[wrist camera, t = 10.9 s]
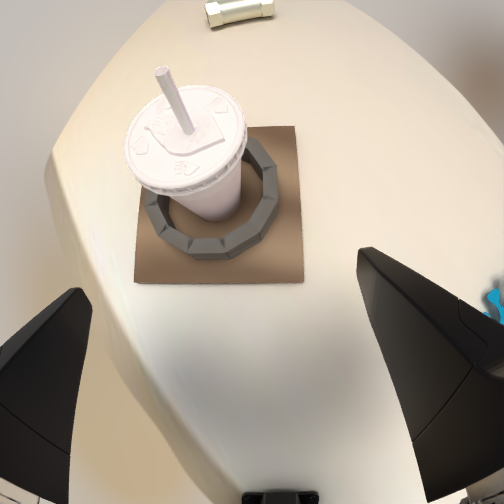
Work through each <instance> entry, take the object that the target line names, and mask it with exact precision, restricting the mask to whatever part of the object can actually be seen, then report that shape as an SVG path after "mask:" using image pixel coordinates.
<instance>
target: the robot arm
mask: <svg viewBox="0 0 504 504" xmlns="http://www.w3.org/2000/svg"><path fill="white" fill-rule="evenodd" d="M356 272H357V279H358V282H359V286H360V289H361V293H362V296H363V299H364V303H365V307H366V310H367V314H368V317H369V320H370V323H371V326H372V328H373V331H374V333H375V336H376V339H377V341H378V344H379V346H380V349H381V352H382V354H383V357H384V360H385V362H386V365H387V368H388V370H389V373H390V376H391V379H392V382H393V385H394V387H395V390H396V393H397V396H398V399H399V402H400V405H401V408H402V411H403V415H404V418H405V421H406V424H407V427H408V431H409V434H410V437H411V441H412V442H413V443H412V445H413V448H414V452H415V456H416V459H417V463H418V467H419V471H420V475H421V479H422V483H423V487H424V491H425V496H426V500H427V503H430V502H432V501H435V500H438V499H440V498H443V497H445V496H448V495H450V494H452V493H455V492H457V491H459V490H462V489H464V488H466V491H467V495H468V496H467V497H465V498H464V499H462V500H461V502H460V503H459V504H504V325H503V324H501V323H499V322H497V321H496V320H494V319H492V318H490V317H489V316H487V315H485V314H483V313H482V312H480V311H478V310H477V309H475V308H474V307H472V306H470V305H469V304H467V303H466V302H464V301H463V300H461V299H459V300H458V297H456V296H455V295H453V294H451V293H450V292H448V291H447V290H445V289H443V288H442V287H440V286H439V285H437V284H435V283H434V282H432V281H430V280H429V279H427V278H425V277H424V276H422V275H420V274H419V273H417V272H415V271H414V270H412V269H410V268H408V267H407V266H405V265H403V264H402V263H400V262H398V261H396V260H395V259H393V258H391V257H389V256H388V255H386V254H384V253H382V252H380V251H379V250H377V249H375V248H373V247H366V248H360V249H359V250H358V256H357V270H356ZM92 311H93V310H92V305H91V303H90V301H89V300H88V298H87V296H86V294H85V293H84V291H83V289H81V288H80V287H76V288H70V289H69V290H67V291H66V292H65V293H64V294H62V295H61V296H60V297H59V298H57V299H56V300H55V301H53V302H52V303H51V304H50V305H49V306H47V307H46V308H45V309H44V310H42V311H41V312H40V313H39V314H38V315H37V316H35V317H34V318H33V319H32V320H30V321H29V322H28V323H27V324H26V325H25V326H23V327H22V328H21V329H20V330H19V331H18V332H16V333H15V334H14V335H13V336H12V337H11V338H10V339H9V340H7V341H6V342H5V343H4V344H3V345H2V346H1V347H0V504H39V502H40V497H41V498H43V499H46V500H48V501H51V502H53V503H56V504H68V502H69V500H68V499H69V497H68V496H69V467H70V452H71V441H72V431H73V423H74V416H75V408H76V403H77V397H78V391H79V385H80V379H81V374H82V369H83V365H84V360H85V355H86V350H87V344H88V337H89V330H90V324H91V318H92ZM311 496H315V497H313V498H312V497H311ZM246 497H250V498H246ZM318 502H319V495H318V493H317V492H297V493H295V492H292V493H244V494H243V495H242V504H318Z"/></svg>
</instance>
